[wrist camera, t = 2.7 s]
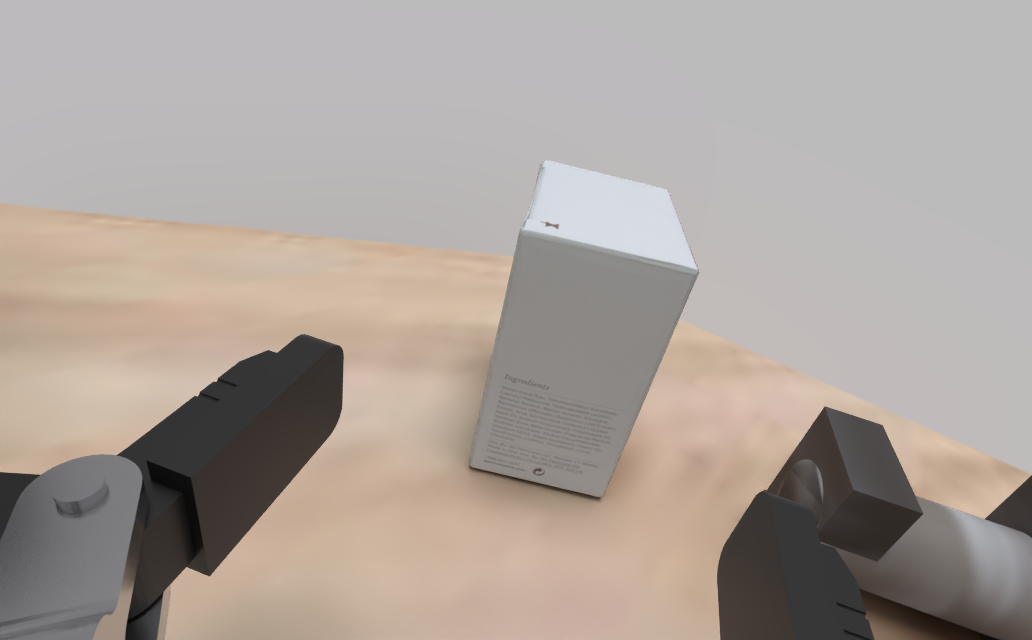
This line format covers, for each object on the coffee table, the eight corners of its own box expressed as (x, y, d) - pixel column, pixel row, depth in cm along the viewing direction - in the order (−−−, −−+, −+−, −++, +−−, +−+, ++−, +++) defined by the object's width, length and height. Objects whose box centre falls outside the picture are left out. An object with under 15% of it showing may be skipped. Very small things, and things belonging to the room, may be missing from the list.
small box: (602, 504, 21) (705, 273, 16) (464, 470, 21) (518, 227, 16) (601, 379, 28) (673, 187, 22) (496, 353, 28) (542, 154, 22)
